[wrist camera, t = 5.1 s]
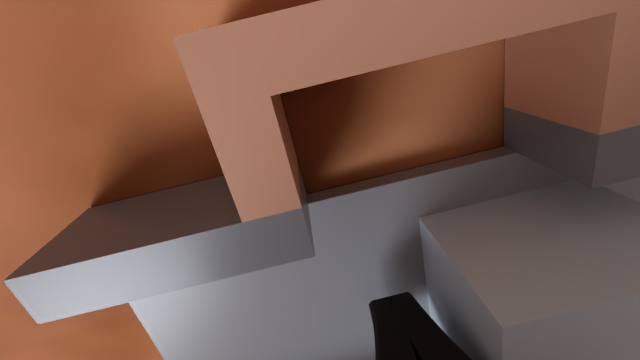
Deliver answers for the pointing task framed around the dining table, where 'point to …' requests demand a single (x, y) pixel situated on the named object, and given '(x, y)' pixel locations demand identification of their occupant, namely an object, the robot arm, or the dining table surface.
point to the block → (538, 275)
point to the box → (344, 201)
